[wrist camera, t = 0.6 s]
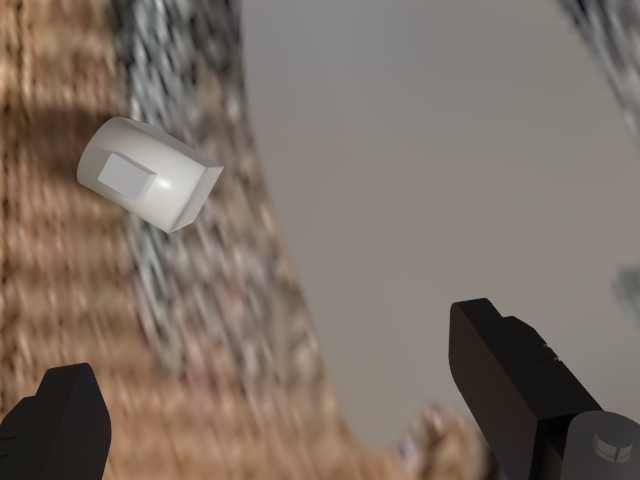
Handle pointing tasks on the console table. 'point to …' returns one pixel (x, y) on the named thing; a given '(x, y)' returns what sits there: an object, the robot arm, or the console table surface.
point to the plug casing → (147, 172)
